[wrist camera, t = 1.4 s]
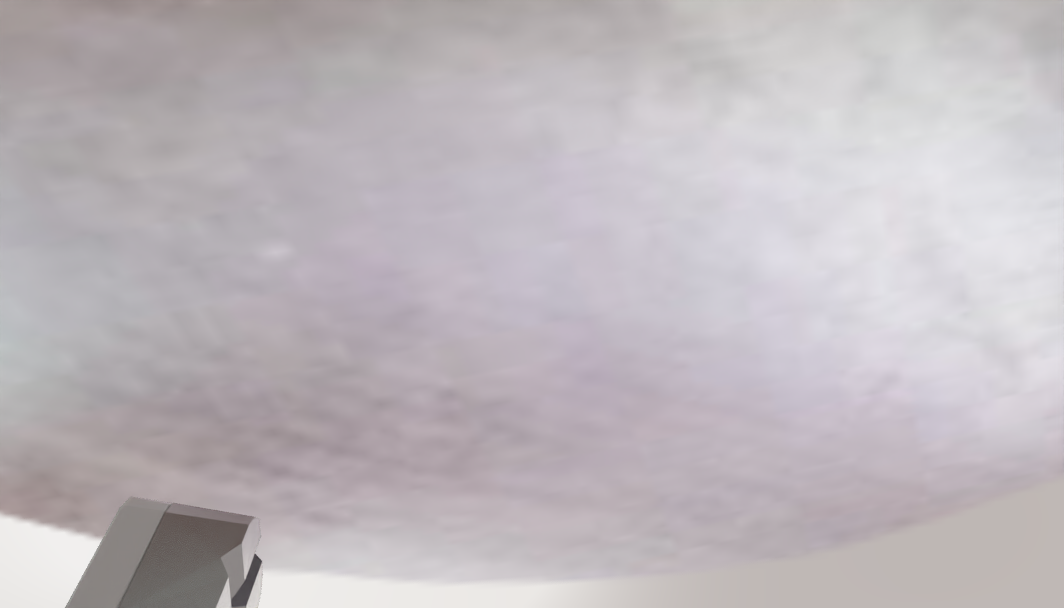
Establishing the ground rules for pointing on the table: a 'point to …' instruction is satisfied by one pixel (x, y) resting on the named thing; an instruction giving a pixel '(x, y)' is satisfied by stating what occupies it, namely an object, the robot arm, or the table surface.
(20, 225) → the table surface
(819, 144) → the table surface
